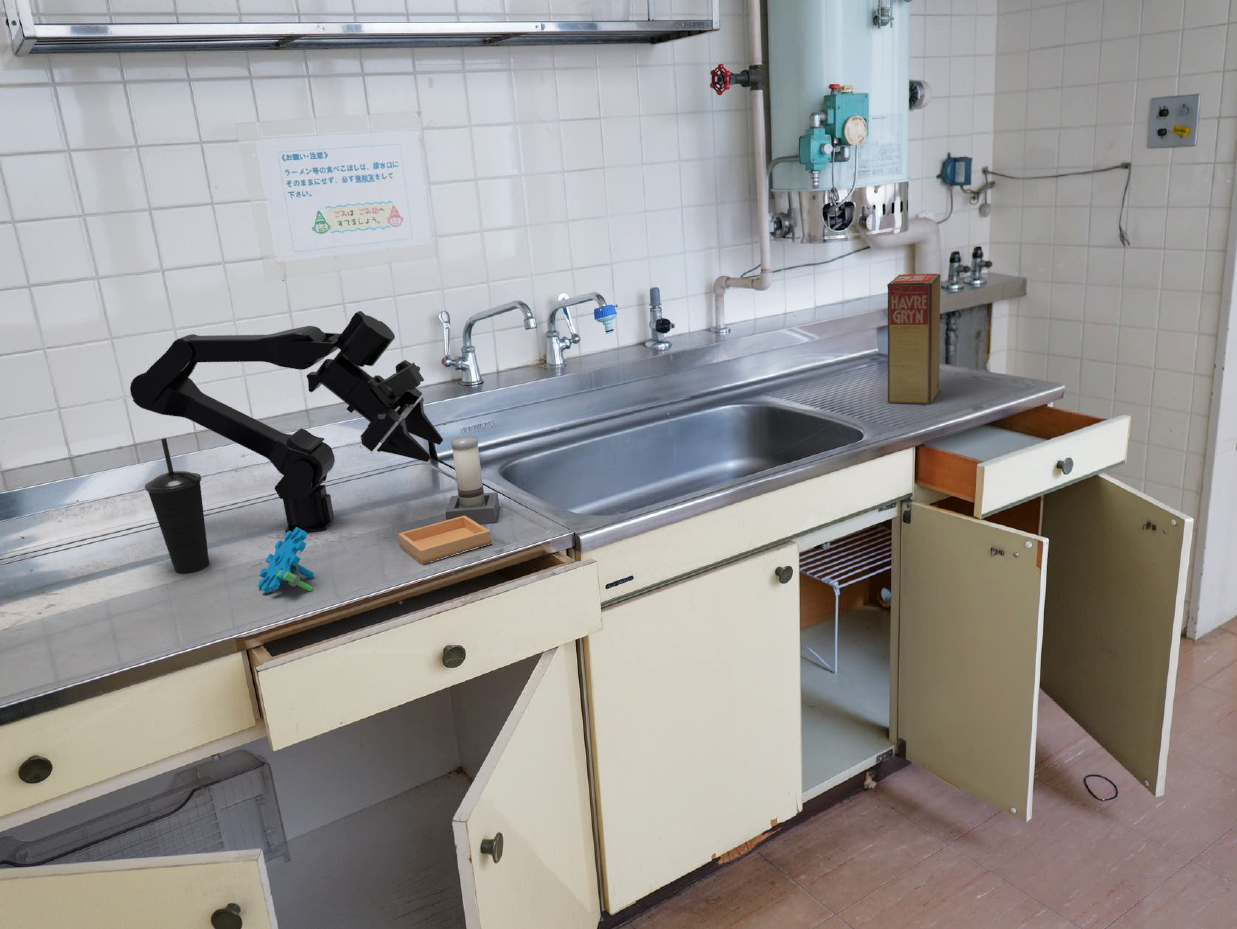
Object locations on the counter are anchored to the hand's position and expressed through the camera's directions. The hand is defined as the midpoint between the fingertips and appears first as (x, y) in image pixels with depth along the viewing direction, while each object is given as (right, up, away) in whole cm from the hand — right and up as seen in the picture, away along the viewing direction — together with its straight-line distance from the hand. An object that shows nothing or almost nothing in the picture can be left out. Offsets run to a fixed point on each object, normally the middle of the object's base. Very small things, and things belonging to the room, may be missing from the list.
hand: (435, 450), depth 157 cm
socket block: (+6, -11, +3) cm, 12 cm away
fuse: (+6, -11, +3) cm, 12 cm away
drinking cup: (-35, -18, -8) cm, 40 cm away
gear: (-17, -19, -18) cm, 32 cm away
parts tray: (+3, -14, -8) cm, 17 cm away
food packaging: (+92, +12, +54) cm, 107 cm away
